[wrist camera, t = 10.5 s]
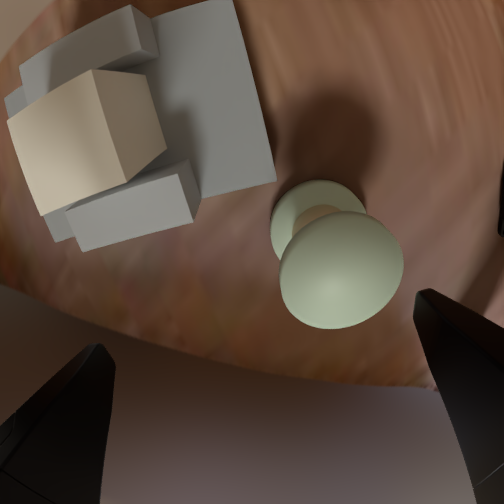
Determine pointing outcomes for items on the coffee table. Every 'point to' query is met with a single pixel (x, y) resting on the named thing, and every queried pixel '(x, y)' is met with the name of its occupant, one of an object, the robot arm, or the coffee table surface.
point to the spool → (332, 256)
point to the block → (86, 137)
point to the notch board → (163, 116)
